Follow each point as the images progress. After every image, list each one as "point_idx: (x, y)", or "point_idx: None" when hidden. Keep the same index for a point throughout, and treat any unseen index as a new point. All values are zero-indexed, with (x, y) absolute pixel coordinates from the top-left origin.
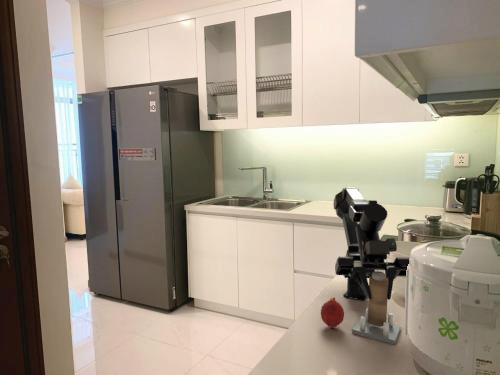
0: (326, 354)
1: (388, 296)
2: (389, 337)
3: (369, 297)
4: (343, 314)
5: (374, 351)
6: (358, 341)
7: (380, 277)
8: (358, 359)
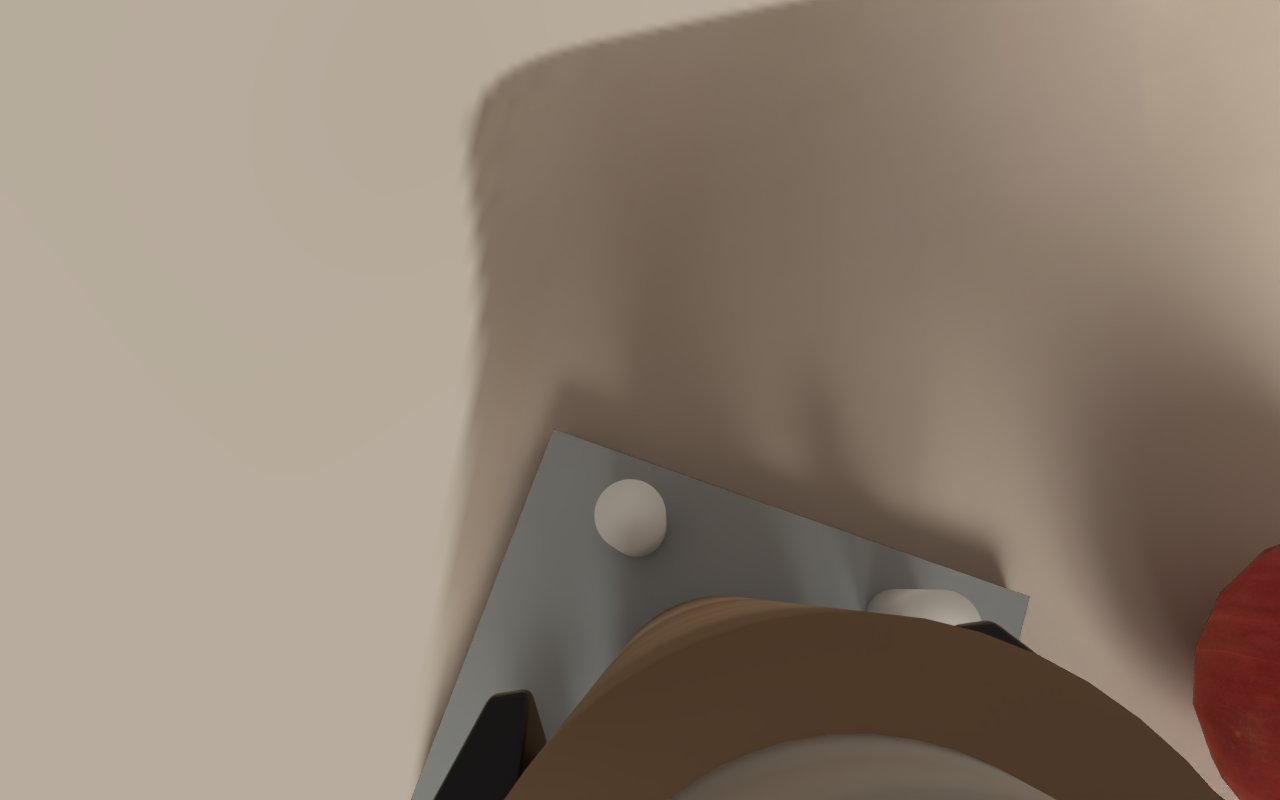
0: (1234, 131)
1: (532, 739)
2: (603, 482)
3: (989, 625)
4: (1255, 644)
5: (782, 273)
6: (933, 426)
7: (865, 779)
8: (938, 116)
